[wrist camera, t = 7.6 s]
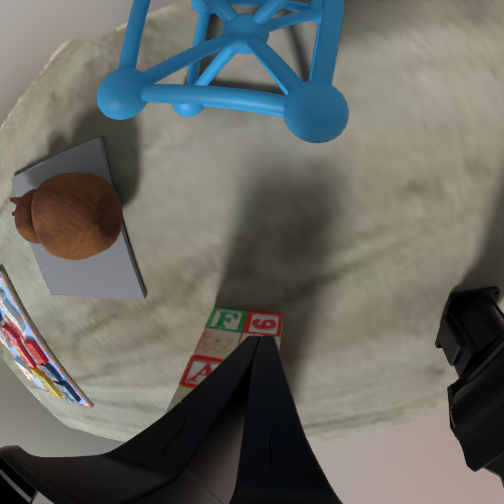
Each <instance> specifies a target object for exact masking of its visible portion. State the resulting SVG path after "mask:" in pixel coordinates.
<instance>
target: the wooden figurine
mask: <svg viewBox="0 0 504 504" xmlns="http://www.w3.org/2000/svg"><path fill="white" fill-rule="evenodd" d="M10 201H11V202H13V203H15V204H16V205H17V206H16V209H15V211H14V212H12V215H13V216H15V224H16V228H17V230H18V232H19V233H20V235H21V236H22V237H23V238H24V239H26V240H27V241H29V242H32V243H35V244H42V245H43V246H44V248H45V249H46V250H47V251H48V252H49V253H50V254H52V255H54V256H57V257H60V258H63V259H67V260H82V259H86V258H89V257H91V256H94V255H96V254H99V253H101V252H103V251H105V250H107V249H108V248H110V247H111V246H112V245H113V244H114V243H115V242H116V240H117V238H118V236H119V234H120V232H121V227H122V215H123V213H122V205H121V201H120V198H119V195H118V194H117V192H116V190H115V189H114V187H113V185H112V184H110V183H109V182H108V181H106V180H105V179H103V178H102V177H100V176H97V175H94V174H91V173H61V174H56V175H54V176H52V177H50V178H48V179H47V180H45V181H44V182H42V183H41V184H40V186H39V187H38V189H32V190H30V191H28V192H26V193H25V194H24V195H23V196H22V197H13V198H10Z"/></svg>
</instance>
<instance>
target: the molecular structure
mask: <svg viewBox="0 0 504 504" xmlns="http://www.w3.org/2000/svg"><path fill="white" fill-rule="evenodd" d="M344 1H345V0H312V1H311V2H310V3H303V2H297V1H291V0H191V5H192V8H193V9H194V10H195V11H196V12H198V13H200V14H199V19H198V23H197V28H196V32H195V37H194V42H193V47H192V48H190V49H188V50H185V51H183V52H181V53H179V54H177V55H175V56H173V57H171V58H169V59H167V60H165V61H163V62H161V63H159V64H157V65H156V66H154V67H152V68H150V69H148V70H147V71H145V72H143V73H142V72H141V71H139V70H137V69H136V63H137V57H138V52H139V47H140V42H141V37H142V32H143V28H144V24H145V19H146V15H147V11H148V8H149V4H150V0H134V2H133V5H132V9H131V13H130V16H129V20H128V24H127V29H126V33H125V38H124V42H123V47H122V53H121V58H120V64H119V69H117V70H114V71H113V72H111V73H109V74H108V75H107V76H106V77H105V78H104V79H103V80H102V82H101V84H100V85H99V87H98V91H97V103H98V107H99V108H100V110H101V111H102V113H104V114H105V115H106V116H107V117H110V118H112V119H117V120H124V119H128V118H131V117H134V116H135V115H137V114H138V113H140V112H141V111H142V110H143V108H144V107H145V106H146V104H147V102H151V103H168V104H172V106H173V109H174V110H175V111H176V112H177V113H178V114H180V115H181V116H185V117H191V116H195V115H197V114H199V113H200V112H201V111H202V110H203V109H204V107H215V108H225V109H233V110H241V111H248V112H255V113H261V114H268V115H273V116H279V117H284V120H285V123H286V124H287V126H288V128H289V129H290V130H291V131H292V132H293V133H294V134H295V136H297V137H299V138H300V139H302V140H304V141H307V142H310V143H324V142H328V141H330V140H333V139H335V138H336V137H337V136H339V135H340V134H341V133H342V131H343V130H344V129H345V127H346V125H347V121H348V115H349V109H348V105H347V102H346V100H345V98H344V96H343V95H342V94H341V93H340V92H339V91H338V90H337V89H336V88H335V87H334V86H332V79H333V73H334V68H335V62H336V56H337V49H338V43H339V37H340V30H341V23H342V20H343V18H344ZM230 5H244V6H259V7H261V8H260V9H259V10H258V11H257V12H256V13H255V14H254V15H253V14H248V13H243V14H237V13H236V11H235V10H234V9H233V8H232V7H231V6H230ZM280 9H287V10H293V11H300V12H296V13H292V14H288V15H284V16H280V17H276V18H272V17H273V16H274V15H275V14H276V13H277V12H278V11H279V10H280ZM214 13H215V14H216V15H217V16H218V17H219V18H220V19H221V20H222V21H224V22H225V24H224V26H223V29H222V35H221V36H218V37H215V38H213V39H211V40H208V41H206V42H205V38H206V33H207V28H208V24H209V19H210V15H211V14H214ZM270 18H272V19H270ZM310 20H312V21H313V22H315V23H316V24H318V28H317V34H316V40H315V46H314V52H313V58H312V64H311V69H310V75H309V80H308V81H306V82H303V81H302V80H301V79H300V78H299V77H298V75H297V74H296V73H295V72H294V71H293V70H292V69H291V68H290V67H289V66H288V65H287V64H286V63H285V62H284V61H283V60H282V59H281V58H280V56H279V55H278V54H277V53H276V52H275V51H274V50H273V49H271V48H270V47H269V46H268V45H267V44H266V42H267V41H268V37H269V32H271V31H274V30H277V29H280V28H283V27H287V26H290V25H294V24H298V23H302V22H306V21H310ZM220 50H221V51H220ZM217 51H220V52H219V53H218V55H217V56H216V57H215V58H214V60H213V61H212V62H211V63H210V64H209V66H208V67H207V68H206V69H205V71H204V72H203V73H202V75H201V76H200V77H199V78H198V76H199V70H200V64H201V59H202V58H204V57H206V56H208V55H211V54H213V53H215V52H217ZM236 53H242V54H248V53H253V54H254V55H255V56H256V57H257V59H258V60H259V61H260V62H261V64H262V65H263V66H264V67H265V69H266V70H267V71H268V72H269V74H270V75H271V76H272V77H273V79H274V80H275V81H276V83H277V84H278V85H279V87H280V88H281V89H282V91H283V92H284V93H285V95H280V94H274V93H268V92H261V91H254V90H246V89H238V88H228V87H217V86H208V84H209V83H210V82H211V81H212V80H213V78H214V77H215V76H216V75H217V74H218V73H219V71H220V70H221V69H222V68H223V67H224V66H225V65H226V63H227V62H228V61H229V60H230V59H231V58H232V57H233V56H234V55H235V54H236ZM187 65H189V69H188V75H187V81H186V84H184V85H182V84H154V83H156V82H158V81H159V80H161V79H163V78H165V77H167V76H168V75H170V74H172V73H174V72H176V71H178V70H180V69H182V68H184V67H186V66H187Z"/></svg>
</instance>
